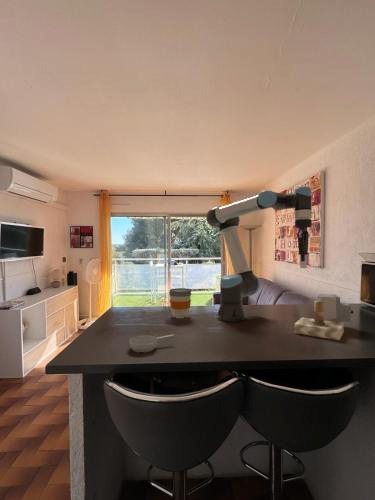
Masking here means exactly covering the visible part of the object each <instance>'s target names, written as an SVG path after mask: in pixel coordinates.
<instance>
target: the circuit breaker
mask: <svg viewBox="0 0 375 500" xmlns="http://www.w3.org/2000/svg"><path fill="white" fill-rule="evenodd" d="M317 301H324V320H326V321H333V322H343V323H344V322H348V323H351V321H352V320H351V317H352V316H351V315H352V314H354V310H352V309H351V305H350V304H348V303H347V302H343V301H341V297H340V296H338V295H337V294H332V293H331V294H330V293H329V294H324V293H320V294H319V293H318V294H317Z"/></svg>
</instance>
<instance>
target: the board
mask: <svg viewBox="0 0 375 500" xmlns="http://www.w3.org/2000/svg"><path fill="white" fill-rule="evenodd" d="M314 322H315V321H314V318H311V317H310V318H308V317H300V318H299V320H297V321H296V322H294V325H293V326H294V327H293V329H294V330H293V331H294V332H293V333H295V334H299V335H306V336H312V337H317V338H323V339H329V340H336V341H340V340H341V338H342V336H343V335H344V333H345V323H344V322H342V321H340V322H333V321H326V320H324V322H323V323H324V325H316V324H314Z"/></svg>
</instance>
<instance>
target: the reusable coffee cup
mask: <svg viewBox="0 0 375 500" xmlns="http://www.w3.org/2000/svg"><path fill="white" fill-rule="evenodd" d="M191 290H192V289H190V288H185V287H183V288H182V287H180V288H178V287H177V288H171V289H169V294H168V295H169V306H170V309H171V313H172V317H173V318H174V317H176V318H175V319H185V318H184V317H186V318H189V315H190V314H189V313H190V308H191V302H192V299H191V297H192V291H191Z"/></svg>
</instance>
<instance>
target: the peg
mask: <svg viewBox="0 0 375 500" xmlns="http://www.w3.org/2000/svg"><path fill="white" fill-rule="evenodd" d="M313 315H314V316H313V319H314V321H315V322H314V324H316V325H324V323H323V322H324V301H318V300H313Z"/></svg>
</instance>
